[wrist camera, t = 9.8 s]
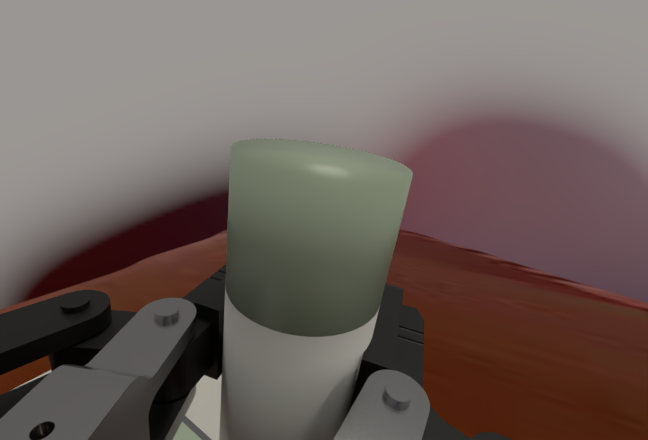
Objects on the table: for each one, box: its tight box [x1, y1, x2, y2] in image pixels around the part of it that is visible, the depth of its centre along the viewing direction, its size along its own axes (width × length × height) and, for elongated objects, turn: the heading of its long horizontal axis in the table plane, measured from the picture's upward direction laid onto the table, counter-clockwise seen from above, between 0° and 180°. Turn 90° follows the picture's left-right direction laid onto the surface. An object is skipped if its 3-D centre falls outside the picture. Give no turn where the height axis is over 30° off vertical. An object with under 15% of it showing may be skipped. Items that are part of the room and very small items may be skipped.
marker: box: [219, 139, 413, 440], centre depth 9 cm, size 4×4×12 cm
